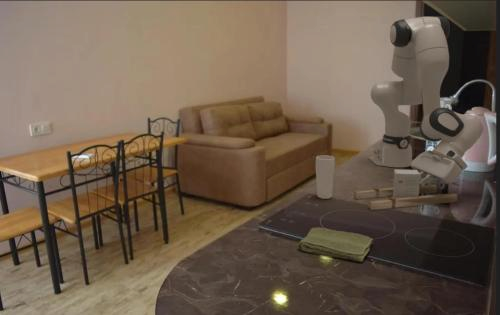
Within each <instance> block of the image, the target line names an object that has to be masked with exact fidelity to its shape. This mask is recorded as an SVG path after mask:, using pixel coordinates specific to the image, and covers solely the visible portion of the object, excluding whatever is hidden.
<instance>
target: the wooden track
mask: <svg viewBox="0 0 500 315" xmlns="http://www.w3.org/2000/svg"><path fill="white" fill-rule="evenodd" d="M437 188H438V185H436V184H434V183H432V184H425V185H424V186H421V185H419V195H420V194H427V195H420V196H417V197H407V198H396V199H395V198H393V187H388V188H378V187H377V186H376V187H373V188H372V189H364V190H354V191H353V194H354V196H353V197H354V199H355V200H365V199H375V200H369V201H368V209H370V210H371V211H375V210H376V211H377V210H386V209H387V210H388V209H396V208H397V209H399V208H407V207H416V206H419V207H420V206H429V205H437V204H446V203H449V204H450V203H457V201H458V194H456V193H454V192H452V193H451V192H450V193H441V194H433V193H436V192H437V190H438V189H437ZM428 193H432V194H431V195H428ZM386 197H389V198H388V199H387V198H386ZM376 198H386V199H378V200H376Z"/></svg>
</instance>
